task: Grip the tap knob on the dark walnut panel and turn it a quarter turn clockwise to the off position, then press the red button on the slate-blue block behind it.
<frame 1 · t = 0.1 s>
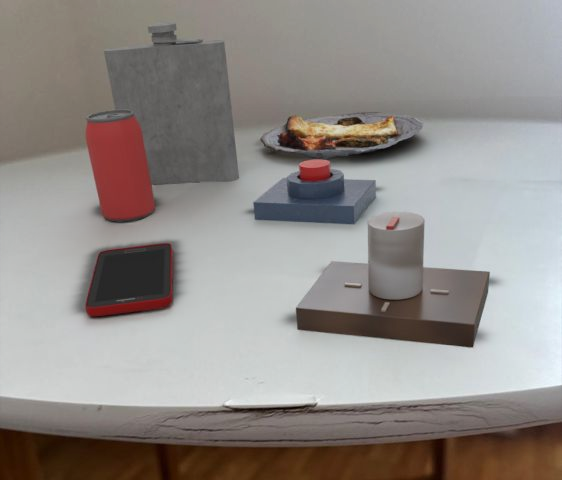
cell phone: (134, 283, 68), on the table
red button: (314, 170, 81), point 5 cm above the table, slide at 0.2 cm
hip flask: (184, 181, 99), on the table
tap knob: (395, 253, 56), point 5 cm above the table, hinge at 90.0°
food plate: (341, 146, 109), on the table
button block: (316, 209, 83), on the table
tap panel: (395, 310, 58), on the table
beer can: (129, 216, 87), on the table
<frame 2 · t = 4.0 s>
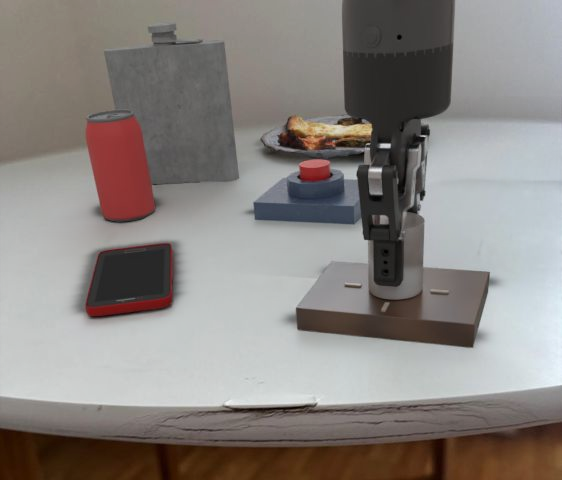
hand: (395, 270, 56), 4 cm above the table, tool pointing down, fingers closed on tap knob, 4 cm apart
tap knob: (395, 253, 56), point 5 cm above the table, hinge at 90.0°, touching gripper
everything else where it was.
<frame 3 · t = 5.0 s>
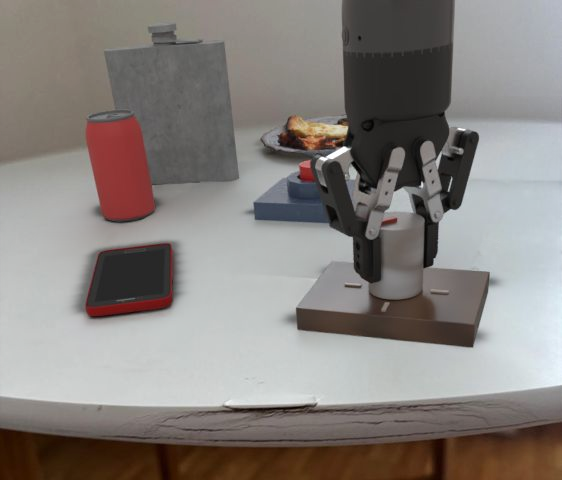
hand: (396, 271, 56), 4 cm above the table, tool pointing down, fingers closed on tap knob, 4 cm apart
tap knob: (395, 253, 56), point 5 cm above the table, hinge at 45.9°, touching gripper
everything else where it was.
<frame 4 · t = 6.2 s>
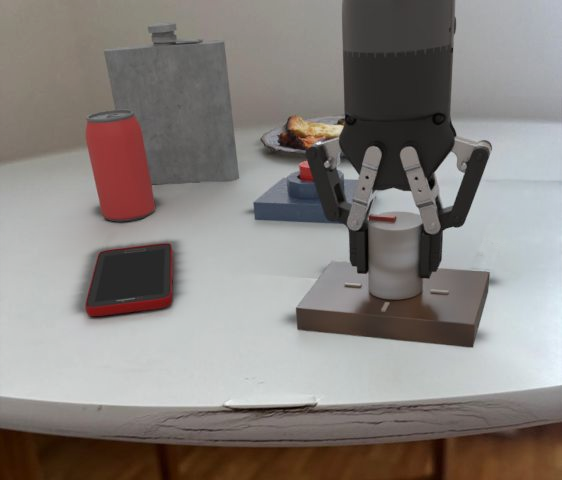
hand: (395, 271, 56), 4 cm above the table, tool pointing down, fingers closed on tap knob, 4 cm apart
tap knob: (395, 253, 56), point 5 cm above the table, hinge at -4.5°, touching gripper
everything else where it was.
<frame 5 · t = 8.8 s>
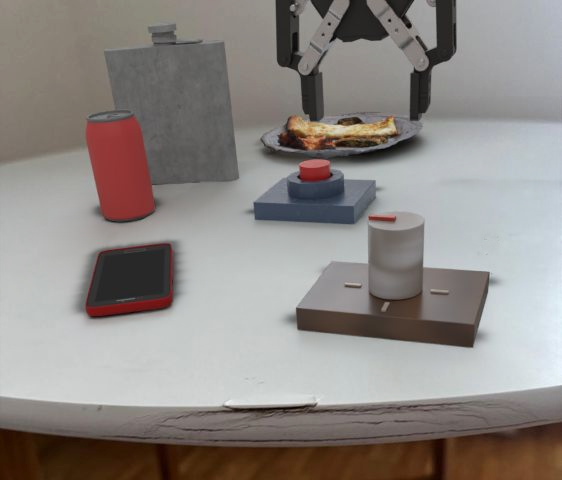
hand: (365, 119, 59), 14 cm above the table, tool pointing down, fingers open, 8 cm apart
tap knob: (395, 253, 56), point 5 cm above the table, hinge at -3.5°
everything else where it was.
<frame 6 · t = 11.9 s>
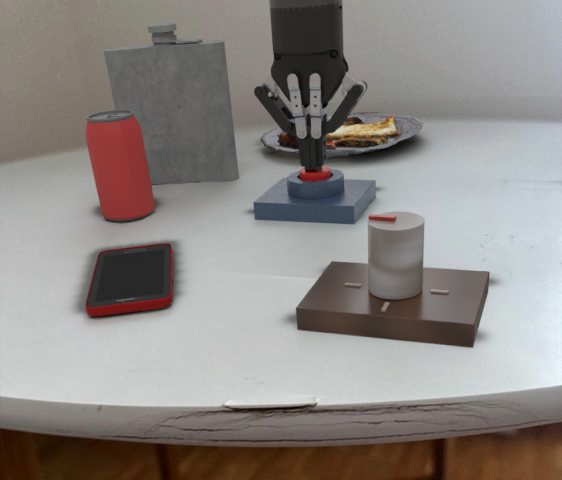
hand: (313, 169, 80), 5 cm above the table, tool pointing down, fingers closed
red button: (315, 177, 81), point 4 cm above the table, slide at -0.6 cm, touching gripper
everything else where it was.
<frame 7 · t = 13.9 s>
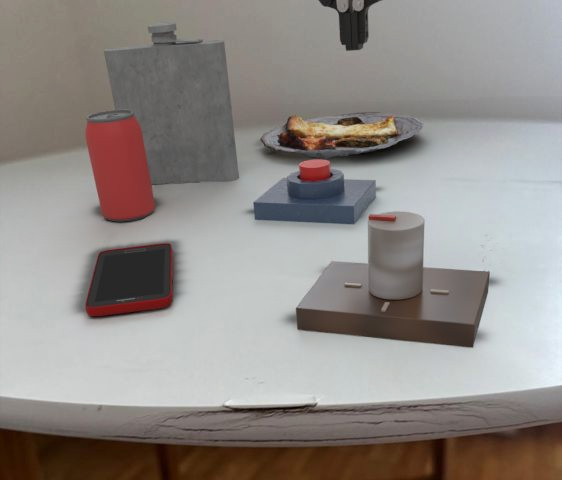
hand: (354, 49, 76), 17 cm above the table, tool pointing down, fingers closed
red button: (314, 170, 81), point 5 cm above the table, slide at 0.2 cm
everything else where it was.
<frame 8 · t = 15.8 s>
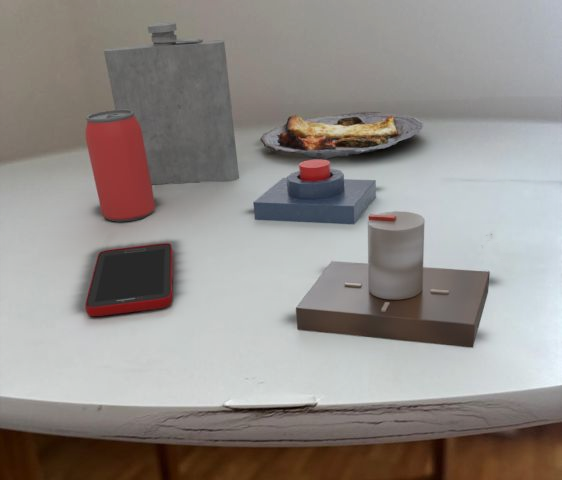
nothing on the table moved.
at the end: tap knob at -4° (first picture: +90°); red button pushed in 1.1 cm at the most during the clip, back to 0.2 cm at the end; red button slide at 0.2 cm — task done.
